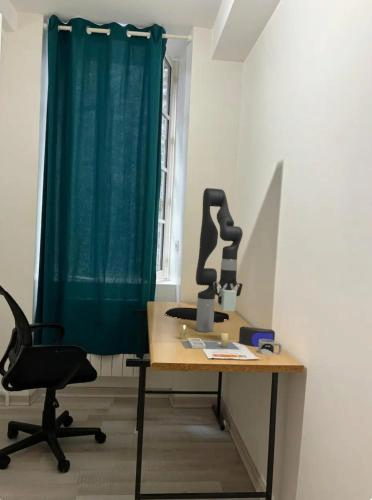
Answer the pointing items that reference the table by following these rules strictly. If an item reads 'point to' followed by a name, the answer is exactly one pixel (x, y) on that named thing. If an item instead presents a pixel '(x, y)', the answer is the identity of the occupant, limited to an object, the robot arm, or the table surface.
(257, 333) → the leaning round-cornered charcoal block
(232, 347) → the board
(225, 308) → the block
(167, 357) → the table surface
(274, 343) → the mug
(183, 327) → the pin
